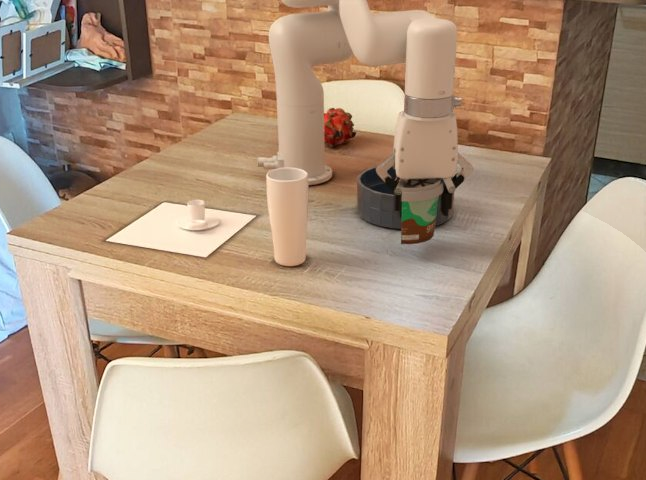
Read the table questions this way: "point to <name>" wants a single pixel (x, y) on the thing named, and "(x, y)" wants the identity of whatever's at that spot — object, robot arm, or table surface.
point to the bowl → (384, 200)
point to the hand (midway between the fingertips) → (422, 213)
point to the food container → (419, 209)
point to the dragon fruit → (337, 127)
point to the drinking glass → (288, 213)
